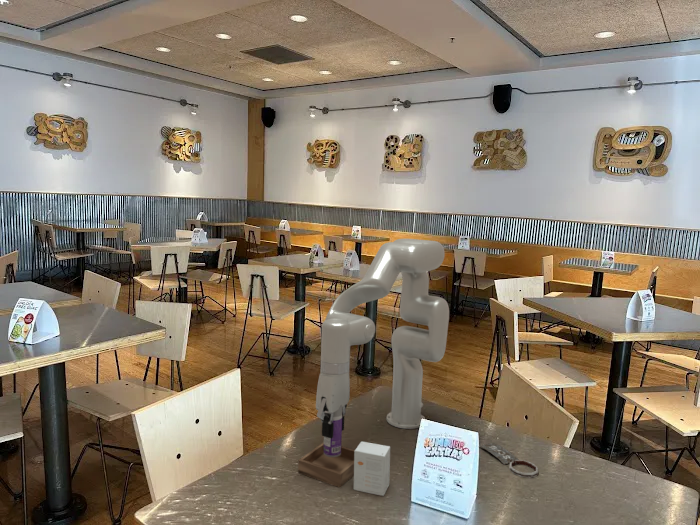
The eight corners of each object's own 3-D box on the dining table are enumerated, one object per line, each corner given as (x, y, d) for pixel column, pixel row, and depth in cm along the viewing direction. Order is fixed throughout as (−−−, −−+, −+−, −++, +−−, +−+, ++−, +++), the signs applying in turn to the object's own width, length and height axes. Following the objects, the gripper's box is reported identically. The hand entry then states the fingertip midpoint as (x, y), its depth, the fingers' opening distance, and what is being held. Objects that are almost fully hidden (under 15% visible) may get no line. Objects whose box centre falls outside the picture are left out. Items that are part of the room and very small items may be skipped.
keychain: (497, 444, 157) (497, 438, 157) (544, 476, 140) (545, 469, 140) (476, 449, 154) (476, 442, 154) (522, 482, 137) (522, 475, 136)
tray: (324, 452, 148) (325, 440, 148) (365, 465, 142) (365, 453, 141) (298, 472, 137) (298, 460, 136) (340, 487, 130) (340, 474, 130)
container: (341, 449, 141) (343, 396, 139) (339, 458, 136) (341, 403, 134) (324, 448, 141) (326, 395, 139) (322, 456, 136) (323, 401, 135)
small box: (389, 485, 132) (391, 446, 131) (383, 497, 127) (385, 456, 126) (359, 478, 135) (361, 440, 133) (352, 490, 130) (354, 450, 128)
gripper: (339, 356, 145) (337, 418, 147) (304, 372, 130) (302, 441, 132) (363, 361, 141) (360, 425, 143) (329, 378, 127) (327, 449, 129)
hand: (333, 432), depth 138 cm, fingers closed on container, 4 cm apart
